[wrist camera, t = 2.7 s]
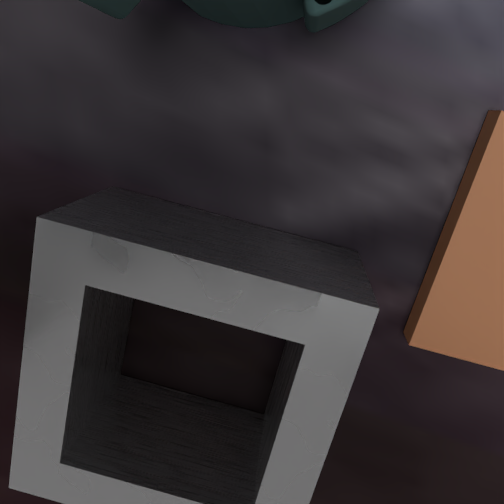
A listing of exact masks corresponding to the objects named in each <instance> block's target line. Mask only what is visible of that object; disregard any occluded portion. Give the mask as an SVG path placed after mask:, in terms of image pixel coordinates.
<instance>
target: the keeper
mask: <svg viewBox="0 0 504 504" xmlns="http://www.w3.org/2000/svg"><path fill="white" fill-rule="evenodd" d="M403 333H404V335H405V337H406V340H407V342H408V344H409V345H410V346H414V347H418V348H422V349H425V350H429V351H433V352H436V353H440V354H444V355H448V356H451V357H455V358H459V359H462V360H466V361H470V362H473V363H477V364H481V365H485V366H488V367H492V368H496V369H499V370H503V371H504V111H493V110H489V111H488V113H487V116H486V118H485V121H484V124H483V126H482V129H481V131H480V134H479V136H478V139H477V142H476V144H475V147H474V149H473V152H472V155H471V157H470V160H469V162H468V165H467V168H466V170H465V173H464V175H463V178H462V181H461V183H460V186H459V188H458V191H457V194H456V196H455V199H454V201H453V204H452V206H451V209H450V212H449V214H448V217H447V219H446V222H445V225H444V227H443V230H442V232H441V235H440V238H439V240H438V243H437V245H436V248H435V251H434V253H433V256H432V258H431V261H430V264H429V266H428V269H427V271H426V274H425V276H424V279H423V282H422V284H421V287H420V289H419V292H418V295H417V297H416V300H415V302H414V305H413V308H412V310H411V313H410V315H409V318H408V321H407V323H406V326H405V328H404V331H403Z"/></svg>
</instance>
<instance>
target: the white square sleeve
mask: <svg viewBox="0 0 504 504" xmlns="http://www.w3.org/2000/svg"><path fill="white" fill-rule="evenodd" d="M134 298H135V299H138V300H142V301H146V302H150V303H153V304H157V305H161V306H164V307H168V308H172V309H175V310H179V311H183V312H186V313H190V314H194V315H197V316H201V317H205V318H208V319H212V320H216V321H220V322H223V323H227V324H231V325H234V326H238V327H242V328H245V329H249V330H253V331H256V332H260V333H264V334H267V335H271V336H275V337H278V338H282V339H286V343H285V346H284V349H283V353H282V356H281V359H280V363H279V366H278V369H277V373H276V376H275V379H274V383H273V386H272V389H271V393H270V396H269V399H268V403H267V406H266V409H265V413H264V414H261V413H258V412H254V411H250V410H247V409H243V408H239V407H236V406H232V405H229V404H225V403H221V402H218V401H214V400H210V399H207V398H203V397H200V396H196V395H192V394H189V393H185V392H182V391H178V390H174V389H171V388H167V387H163V386H160V385H156V384H153V383H149V382H145V381H142V380H138V379H134V378H131V377H127V376H124V375H121V370H122V364H123V359H124V353H125V348H126V342H127V337H128V331H129V325H130V320H131V314H132V309H133V303H134ZM378 312H379V306H378V303H377V301H376V298H375V296H374V293H373V290H372V288H371V285H370V283H369V280H368V277H367V275H366V272H365V269H364V267H363V264H362V262H361V259H360V256H359V254H358V251H354V250H350V249H347V248H343V247H339V246H335V245H332V244H328V243H324V242H320V241H316V240H313V239H309V238H305V237H301V236H298V235H294V234H290V233H286V232H282V231H279V230H275V229H271V228H267V227H264V226H260V225H256V224H252V223H249V222H245V221H241V220H237V219H233V218H230V217H226V216H222V215H218V214H215V213H211V212H207V211H203V210H199V209H196V208H192V207H188V206H184V205H181V204H177V203H173V202H169V201H166V200H162V199H158V198H154V197H150V196H147V195H143V194H139V193H135V192H132V191H128V190H124V189H120V188H116V187H113V186H112V187H110V188H107V189H105V190H102V191H100V192H97V193H95V194H92V195H90V196H87V197H85V198H82V199H80V200H77V201H75V202H72V203H70V204H67V205H65V206H62V207H60V208H57V209H55V210H53V211H50V212H48V213H45V214H43V215H40V216H38V217H37V218H36V228H35V238H34V247H33V257H32V267H31V276H30V286H29V296H28V306H27V315H26V325H25V335H24V344H23V354H22V364H21V373H20V383H19V393H18V402H17V412H16V422H15V431H14V441H13V451H12V461H11V470H10V480H9V488H11V489H15V490H18V491H22V492H25V493H29V494H32V495H36V496H39V497H43V498H46V499H50V500H53V501H57V502H60V503H64V504H309V502H310V500H311V497H312V494H313V491H314V489H315V486H316V483H317V480H318V478H319V475H320V472H321V469H322V467H323V464H324V461H325V458H326V456H327V453H328V450H329V447H330V444H331V442H332V439H333V436H334V433H335V431H336V428H337V425H338V422H339V420H340V417H341V414H342V411H343V409H344V406H345V403H346V400H347V397H348V395H349V392H350V389H351V386H352V384H353V381H354V378H355V375H356V373H357V370H358V367H359V364H360V362H361V359H362V356H363V353H364V351H365V348H366V345H367V342H368V339H369V337H370V334H371V331H372V328H373V326H374V323H375V320H376V317H377V315H378Z"/></svg>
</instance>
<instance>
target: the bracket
mask: <svg viewBox="0 0 504 504" xmlns="http://www.w3.org/2000/svg"><path fill="white" fill-rule="evenodd" d="M79 1H81V2H83V3H86V4H88V5H90V6H92V7H94V8H96V9H98V10H100V11H102V12H104V13H106V14H108V15H110V16H112V17H114V18H117V19H123V18H125V17H126V16H127V15H128V14H129V13H130V12H131V11H132V10H133V9H134V7H135V6H136V5H137V4H138V3H139V2H140V1H141V0H79ZM182 1H183V2H184V3H185V4H187V5H188V6H189V7H190V8H191V9H193V10H194V11H195V12H196V13H197V14H198V15H200V16H202V17H205V18H207V19H210V20H212V21H215V22H218V23H220V24H225V25H230V26H236V27H242V28H260V27H271V26H276V25H280V24H285V23H289V22H292V21H295V20H297V19H299V18H302V17H304V19H305V26H306V28H307V29H308V30H309V31H310V32H318V31H320V30H322V29H325V28H327V27H329V26H331V25H333V24H335V23H337V22H339V21H341V20H342V19H344V18H345V17H347V16H348V15H350V14H351V13H353V12H354V11H356V10H357V9H359V8H360V7H361V6H363V5H364V4H365V3H366V2H367V1H368V0H182Z"/></svg>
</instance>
